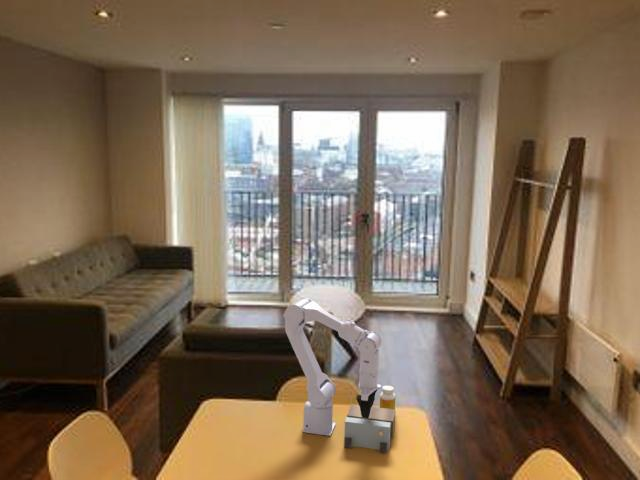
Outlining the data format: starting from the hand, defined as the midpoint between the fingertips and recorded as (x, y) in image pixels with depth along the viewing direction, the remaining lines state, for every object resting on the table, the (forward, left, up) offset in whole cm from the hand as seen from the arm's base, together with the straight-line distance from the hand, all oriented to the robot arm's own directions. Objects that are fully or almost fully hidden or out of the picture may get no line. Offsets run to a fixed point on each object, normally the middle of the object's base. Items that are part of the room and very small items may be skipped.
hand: (367, 411), depth 175 cm
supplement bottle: (+5, +19, -10) cm, 22 cm away
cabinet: (+1, +2, -10) cm, 10 cm away
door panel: (+1, -3, -10) cm, 10 cm away
